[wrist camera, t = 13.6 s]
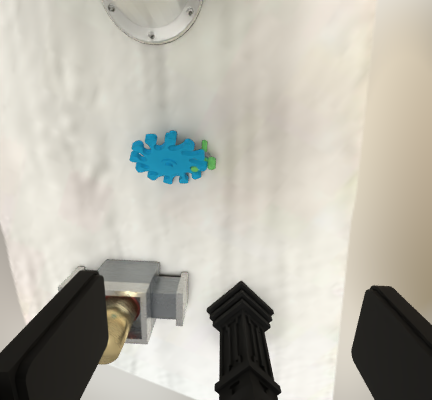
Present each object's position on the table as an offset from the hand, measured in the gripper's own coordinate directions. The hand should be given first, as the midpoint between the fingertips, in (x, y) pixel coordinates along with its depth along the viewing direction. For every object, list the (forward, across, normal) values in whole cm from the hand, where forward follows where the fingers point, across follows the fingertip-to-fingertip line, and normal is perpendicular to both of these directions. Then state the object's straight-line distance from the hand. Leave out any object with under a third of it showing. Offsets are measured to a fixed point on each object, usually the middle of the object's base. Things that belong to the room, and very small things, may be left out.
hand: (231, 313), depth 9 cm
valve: (+30, +14, +20) cm, 39 cm away
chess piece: (+31, -4, +24) cm, 39 cm away
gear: (+31, +7, -1) cm, 31 cm away
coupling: (+24, +14, +20) cm, 34 cm away
